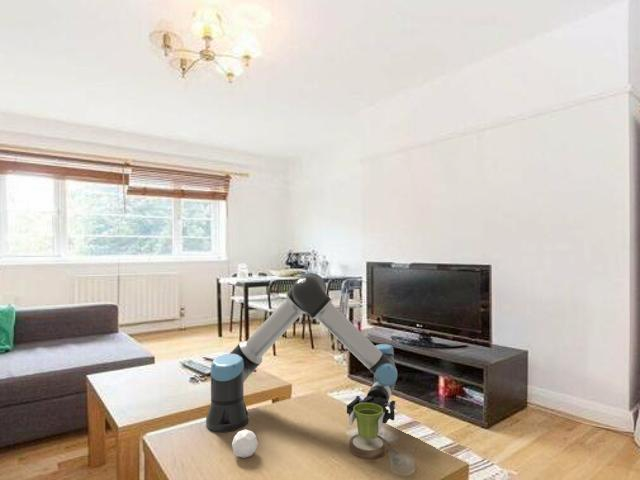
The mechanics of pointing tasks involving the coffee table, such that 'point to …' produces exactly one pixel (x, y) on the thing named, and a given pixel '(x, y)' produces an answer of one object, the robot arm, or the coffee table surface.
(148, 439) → the coffee table surface
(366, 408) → the plant pot
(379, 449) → the pedestal
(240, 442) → the geometric ball
